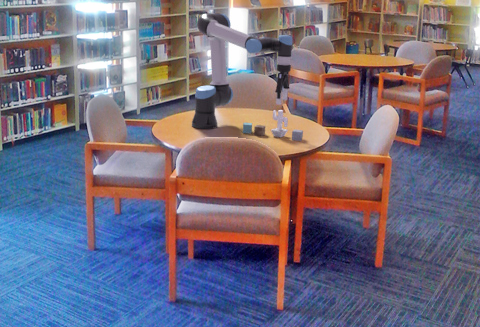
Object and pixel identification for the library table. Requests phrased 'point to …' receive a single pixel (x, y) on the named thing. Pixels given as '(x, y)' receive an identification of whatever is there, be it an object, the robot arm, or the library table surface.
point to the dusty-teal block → (247, 127)
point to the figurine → (279, 124)
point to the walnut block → (259, 130)
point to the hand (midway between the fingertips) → (281, 102)
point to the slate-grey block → (297, 135)
